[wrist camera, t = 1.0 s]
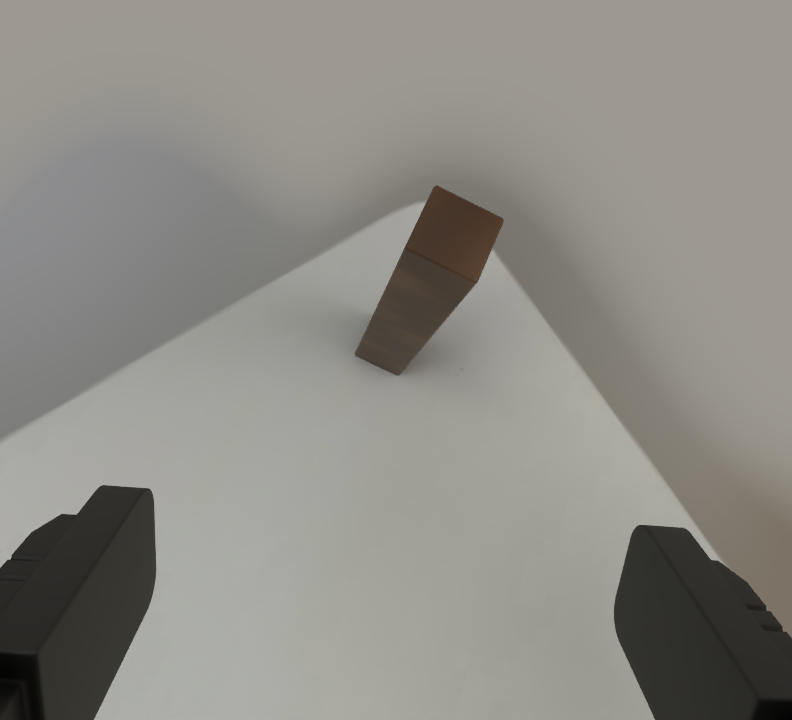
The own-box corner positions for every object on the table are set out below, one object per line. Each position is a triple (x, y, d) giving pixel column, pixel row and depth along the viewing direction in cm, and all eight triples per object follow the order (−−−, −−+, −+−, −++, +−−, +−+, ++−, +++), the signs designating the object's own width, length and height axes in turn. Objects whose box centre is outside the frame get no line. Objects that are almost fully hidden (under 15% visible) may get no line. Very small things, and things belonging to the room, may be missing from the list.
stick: (353, 355, 32) (404, 247, 19) (374, 313, 32) (435, 183, 20) (398, 376, 32) (477, 283, 19) (417, 334, 33) (505, 218, 20)
